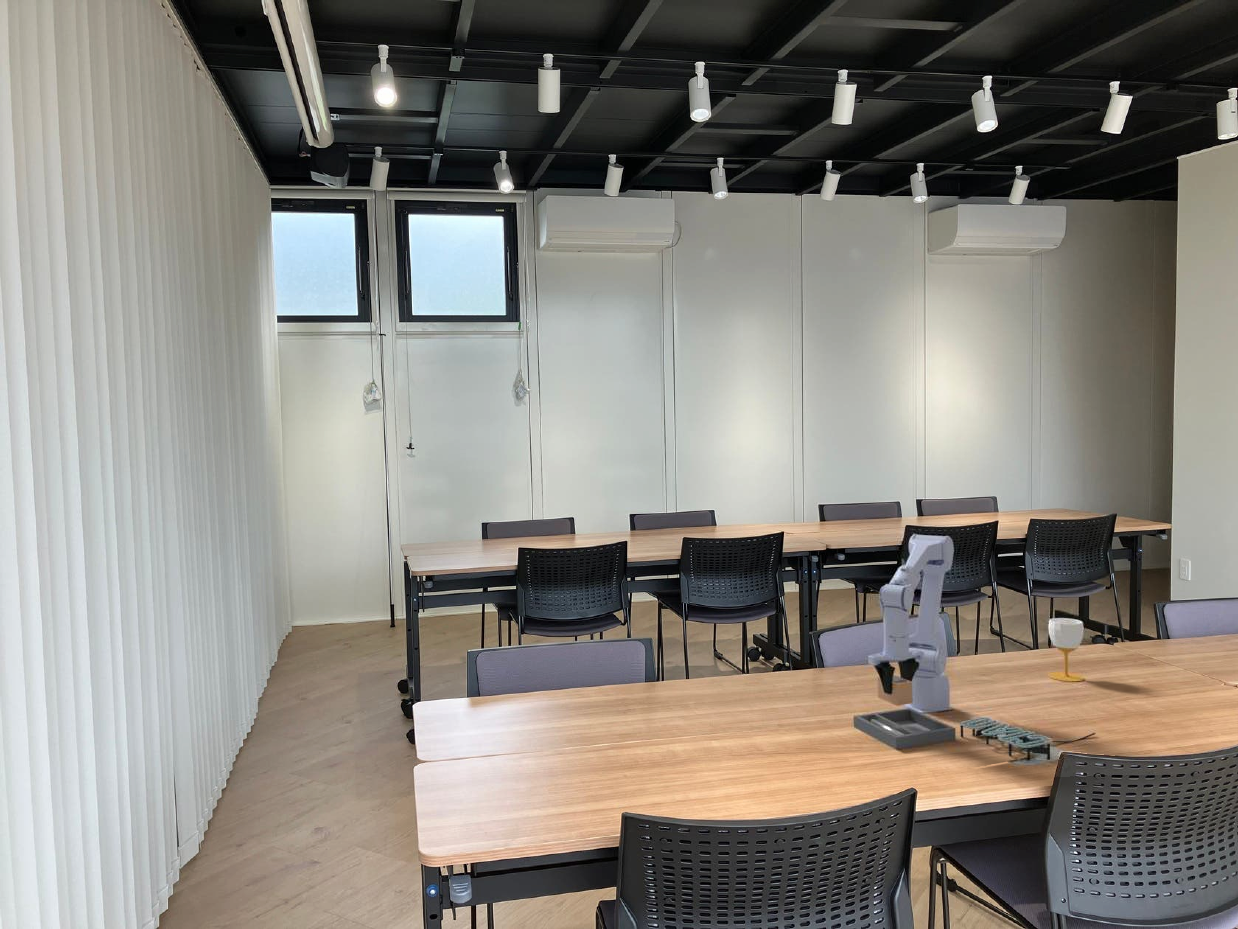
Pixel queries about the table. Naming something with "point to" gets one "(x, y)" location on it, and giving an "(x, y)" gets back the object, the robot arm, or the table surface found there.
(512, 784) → the table surface
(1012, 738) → the neon sign
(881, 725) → the rod
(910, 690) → the block
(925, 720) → the grey divided tray
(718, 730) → the table surface
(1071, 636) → the cup
